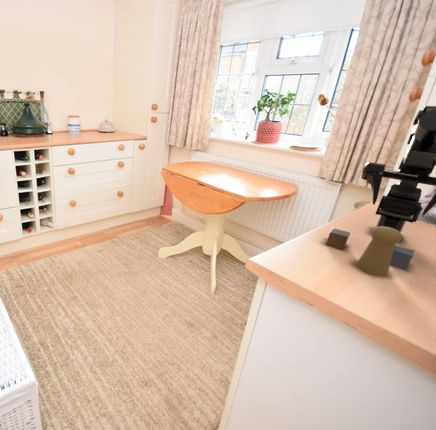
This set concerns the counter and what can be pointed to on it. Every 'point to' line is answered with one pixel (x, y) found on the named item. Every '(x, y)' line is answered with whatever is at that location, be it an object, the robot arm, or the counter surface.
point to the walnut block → (337, 238)
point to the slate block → (401, 257)
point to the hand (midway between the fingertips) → (397, 209)
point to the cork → (379, 251)
